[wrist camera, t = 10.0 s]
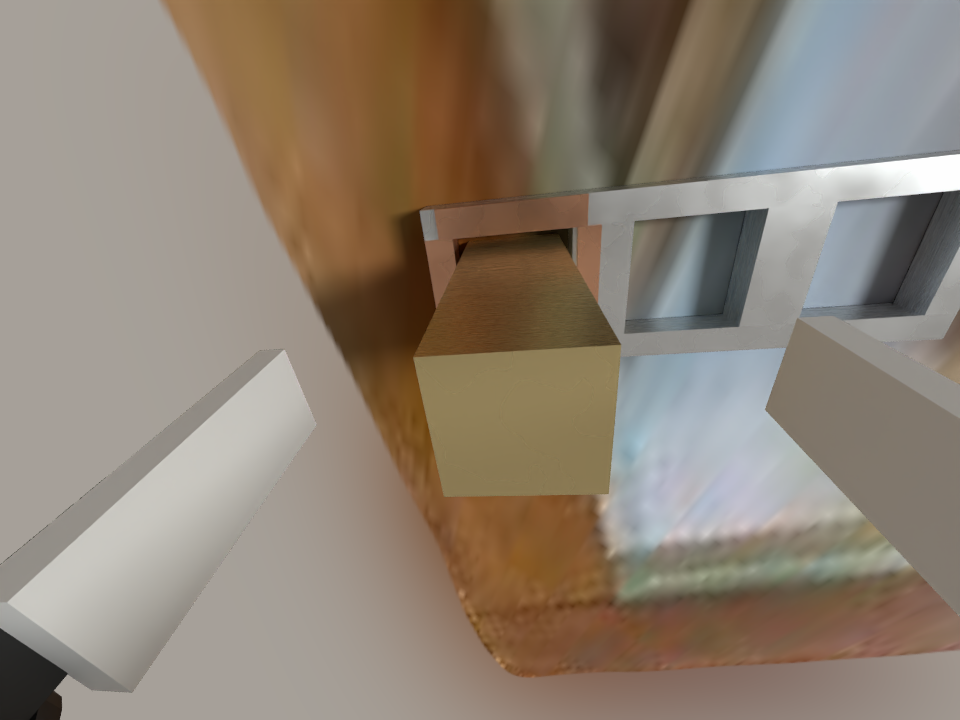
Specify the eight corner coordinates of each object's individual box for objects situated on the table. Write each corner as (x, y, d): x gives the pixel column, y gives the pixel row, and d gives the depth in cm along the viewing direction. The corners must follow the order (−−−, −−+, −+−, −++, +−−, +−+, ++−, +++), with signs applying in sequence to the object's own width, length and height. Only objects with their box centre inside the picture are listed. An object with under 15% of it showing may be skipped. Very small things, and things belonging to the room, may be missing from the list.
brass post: (468, 241, 19) (413, 357, 8) (557, 233, 18) (621, 344, 8) (477, 322, 21) (444, 497, 10) (557, 316, 20) (608, 493, 10)
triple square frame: (426, 206, 18) (418, 211, 16) (1000, 145, 15) (1056, 145, 14) (450, 352, 22) (445, 368, 20) (910, 325, 19) (946, 340, 17)
